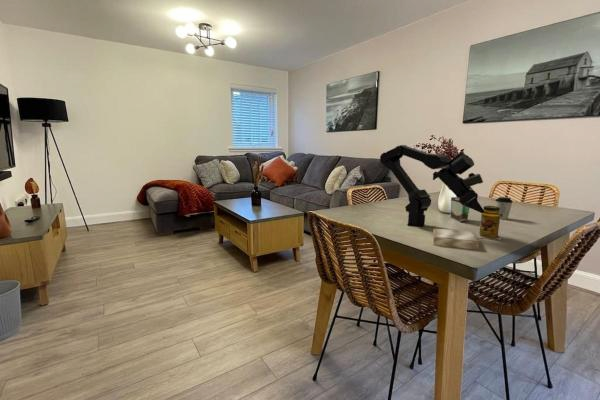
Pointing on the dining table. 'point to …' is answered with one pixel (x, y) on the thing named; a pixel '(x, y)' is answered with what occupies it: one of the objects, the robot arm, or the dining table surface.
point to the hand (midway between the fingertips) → (481, 209)
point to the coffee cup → (504, 207)
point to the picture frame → (455, 239)
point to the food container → (458, 210)
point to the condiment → (489, 223)
